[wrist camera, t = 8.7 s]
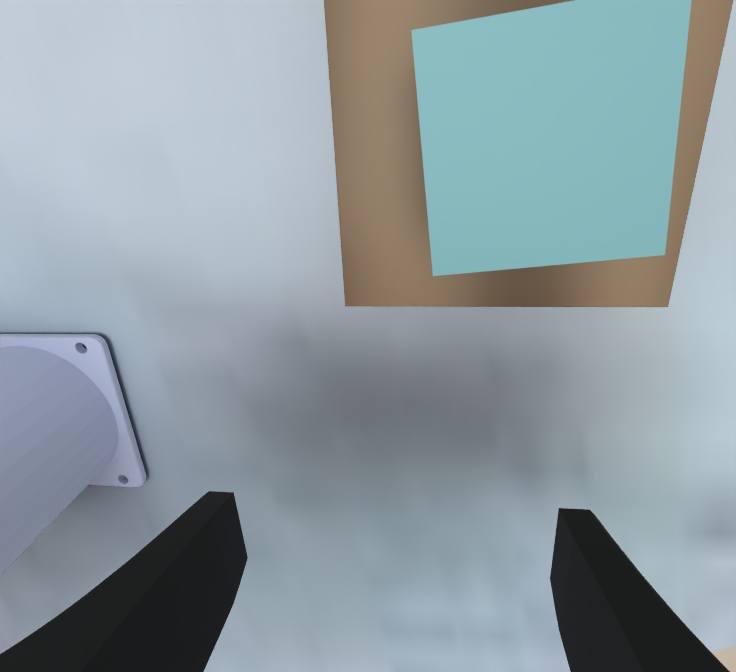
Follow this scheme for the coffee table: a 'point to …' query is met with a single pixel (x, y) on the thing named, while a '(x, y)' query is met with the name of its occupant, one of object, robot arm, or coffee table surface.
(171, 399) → the coffee table surface
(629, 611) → the robot arm
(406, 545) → the coffee table surface
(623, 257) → the teal block
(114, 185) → the coffee table surface
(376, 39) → the walnut block
